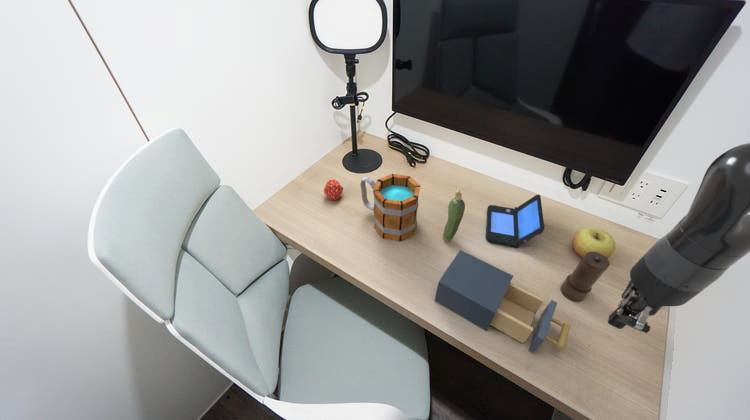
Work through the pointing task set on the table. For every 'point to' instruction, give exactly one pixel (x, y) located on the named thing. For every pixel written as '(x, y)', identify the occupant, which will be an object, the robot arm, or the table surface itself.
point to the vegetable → (454, 216)
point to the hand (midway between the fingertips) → (614, 323)
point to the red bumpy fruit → (333, 189)
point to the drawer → (527, 318)
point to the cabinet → (472, 289)
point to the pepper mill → (584, 276)
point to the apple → (593, 242)
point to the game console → (515, 223)
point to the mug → (393, 205)
